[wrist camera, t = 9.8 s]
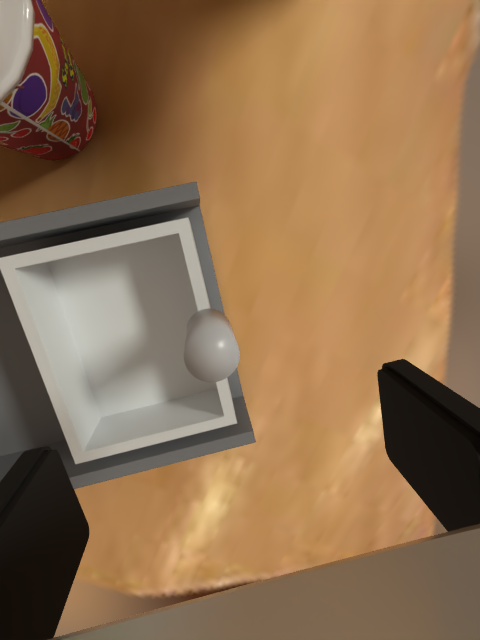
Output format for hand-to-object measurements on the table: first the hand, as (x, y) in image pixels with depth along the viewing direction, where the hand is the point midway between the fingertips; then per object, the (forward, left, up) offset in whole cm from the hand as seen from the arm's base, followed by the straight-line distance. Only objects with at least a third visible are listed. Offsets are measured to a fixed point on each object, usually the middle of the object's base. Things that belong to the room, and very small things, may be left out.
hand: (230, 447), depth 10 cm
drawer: (+5, 0, -21) cm, 21 cm away
